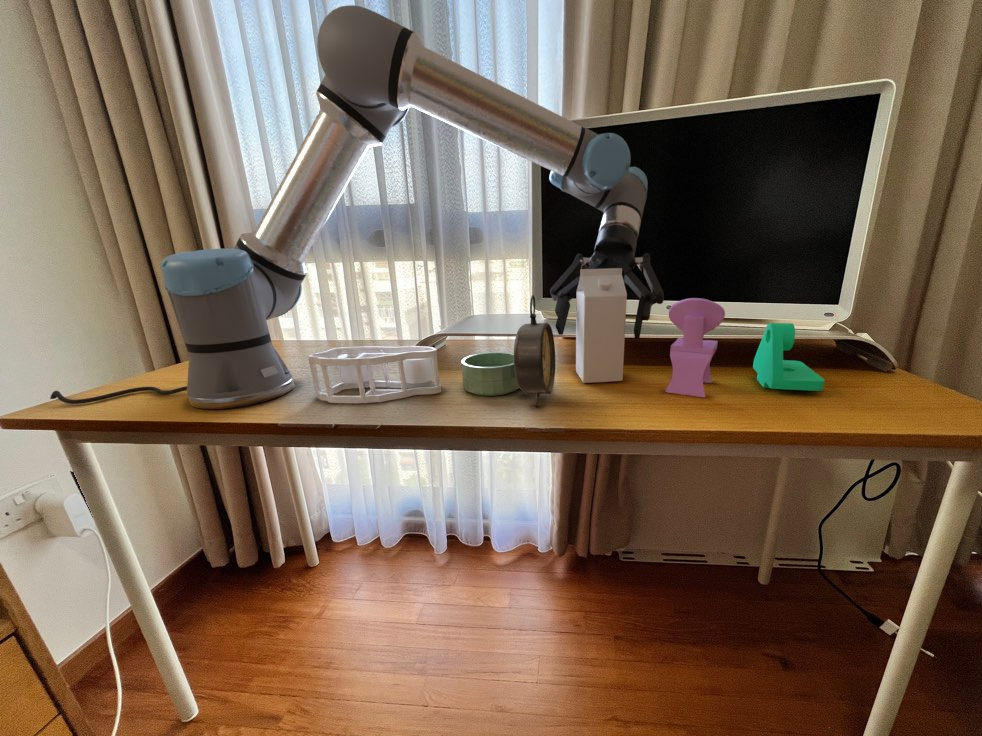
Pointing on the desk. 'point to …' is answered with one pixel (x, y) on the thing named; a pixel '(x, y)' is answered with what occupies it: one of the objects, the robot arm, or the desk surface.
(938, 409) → the desk surface
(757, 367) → the camera mount
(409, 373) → the white wireframe cage
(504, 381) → the bowl
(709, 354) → the toy chair
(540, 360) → the alarm clock
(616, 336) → the milk carton
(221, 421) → the desk surface
